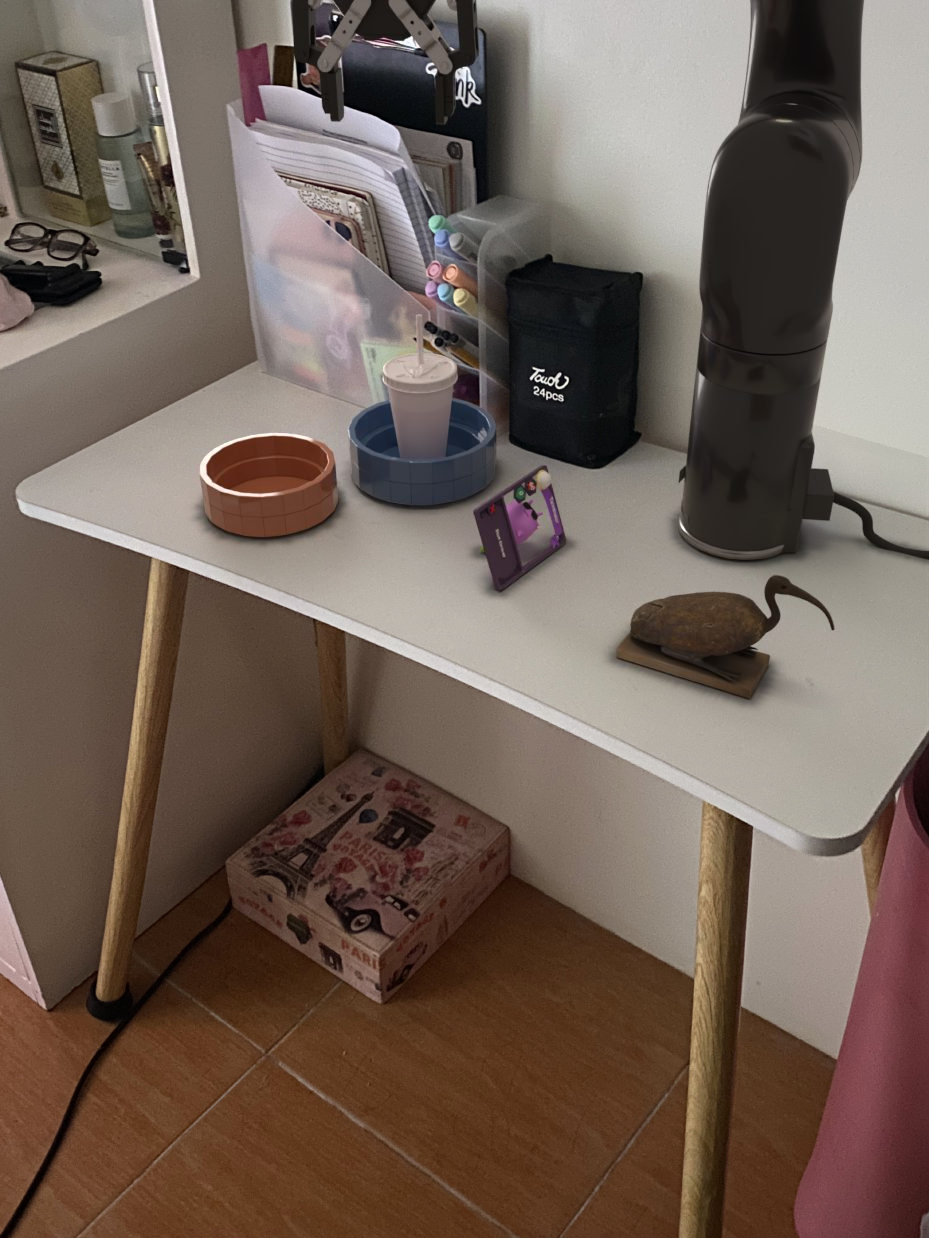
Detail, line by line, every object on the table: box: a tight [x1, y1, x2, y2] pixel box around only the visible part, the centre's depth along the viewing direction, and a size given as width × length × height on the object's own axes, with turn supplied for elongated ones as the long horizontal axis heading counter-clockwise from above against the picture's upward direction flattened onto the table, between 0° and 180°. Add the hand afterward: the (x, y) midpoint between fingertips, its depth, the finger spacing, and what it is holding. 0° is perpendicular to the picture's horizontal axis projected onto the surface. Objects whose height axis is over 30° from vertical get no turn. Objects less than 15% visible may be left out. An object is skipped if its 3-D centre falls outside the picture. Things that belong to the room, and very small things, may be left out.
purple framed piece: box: [472, 464, 567, 591], centre depth 96 cm, size 7×5×9 cm
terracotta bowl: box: [198, 432, 339, 538], centre depth 103 cm, size 11×11×4 cm
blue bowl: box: [347, 397, 497, 506], centre depth 107 cm, size 13×13×4 cm
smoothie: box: [382, 313, 459, 459], centre depth 104 cm, size 6×6×14 cm
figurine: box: [615, 574, 836, 699], centre depth 83 cm, size 14×4×9 cm, turn 61°
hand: (389, 121), depth 98 cm, fingers open, 8 cm apart
